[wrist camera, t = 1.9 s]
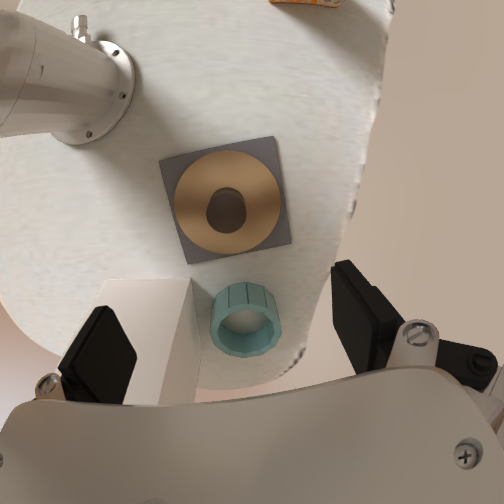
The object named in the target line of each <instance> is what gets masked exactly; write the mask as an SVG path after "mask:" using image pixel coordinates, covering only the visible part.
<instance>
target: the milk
mask: <svg viewBox="0 0 504 504" xmlns="http://www.w3.org/2000/svg"><path fill="white" fill-rule="evenodd" d="M105 305H107V306H109V307H110V308H112V309H113V310H114V312H115V314H116V316H117V318H118V320H119V322H120V324H121V326H122V328H123V330H124V332H125V333H126V335H127V337H128V339H129V341H130V343H131V344H132V346H133V348H134V350H135V351H136V353H137V362H136V365H135V368H134V371H133V373H132V376H131V379H130V382H129V386H128V389H127V392H126V395H125V398H124V401H123V404H124V405H164V404H187V403H194V399H195V393H196V387H197V380H198V374H199V367H200V361H201V355H202V346H201V341H200V335H199V329H198V323H197V317H196V311H195V304H194V297H193V290H192V283H191V278H155V279H106V280H105V282H104V283H103V285H102V287H101V288H100V290H99V291H98V293H97V295H96V296H95V298H94V300H93V301H92V303H91V305H90V306H89V308H88V310H87V312H86V313H85V315H84V317H83V318H82V320H81V322H80V324H79V326H78V327H77V329H76V331H75V333H74V335H73V337H72V338H71V340H70V342H69V344H68V346H67V348H66V350H65V352H64V354H63V356H62V358H61V360H62V359H63V357H64V355H65V354H66V352H67V350H68V349H69V347H70V345H71V344H72V342H73V341H74V339H75V337H76V336H77V334H78V333H79V331H80V329H81V328H82V326H83V325H84V323H85V322H86V320H87V319H88V317H89V316H90V314H91V313H92V311H93V310H94V308H95V307H98V306H105ZM61 360H60V362H61ZM60 362H59V364H60ZM59 364H58V366H59ZM58 366H57V367H58ZM54 373H56V374H58V375H59V376H60V377H61V375H62V374H61V372H60V371H59V370H58V368H56V370H55V372H54Z"/></svg>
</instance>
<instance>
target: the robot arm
mask: <svg viewBox="0 0 504 504" xmlns="http://www.w3.org/2000/svg"><path fill="white" fill-rule="evenodd" d="M71 33H72V36H71V35H69V34H67V33H65V32H63V31H61V30H59V29H57V28H55V27H53V26H51V25H48V24H46V23H44V22H42V21H40V20H37V19H35V18H33V17H30V16H28V15H26V14H23V13H20V12H17V11H14V10H0V138H3V137H10V136H18V135H27V134H37V133H51V134H52V136H54V137H55V138H56V139H57V140H59V141H61V142H63V143H66V144H71V145H76V144H85V143H89V142H92V141H95V140H97V139H99V138H100V137H102V136H104V135H105V134H106V133H107V132H109V131H110V130H111V129H112V128H113V127H114V126H115V125H116V124H117V123H118V121H119V120H120V119H121V117H122V116H123V114H124V113H125V111H126V110H127V107H128V105H129V103H130V101H131V98H132V94H133V91H134V85H135V70H134V66H133V62H132V60H131V58H130V56H129V55H128V53H127V52H126V51H125V50H124V49H123V48H121V47H120V46H118V45H117V44H115V43H112V42H110V41H103V40H100V41H91V36H90V35H89V34H87V16H86V15H80V16H77V17H75V18H74V19H72V21H71ZM118 54H119V55H118ZM117 55H118V56H117ZM124 95H126V97H125V98H123V97H124ZM91 134H92V135H91ZM331 285H332V310H333V325H334V328H335V330H336V332H337V334H338V336H339V338H340V341H341V343H342V345H343V347H344V349H345V351H346V353H347V355H348V357H349V360H350V362H351V364H352V366H353V368H354V370H355V372H356V375H354V376H349V377H346V378H341V379H337V380H334V381H329V382H325V383H321V384H317V385H312V386H308V387H303V388H298V389H294V390H288V391H283V392H278V393H272V394H267V395H260V396H254V397H247V398H240V399H232V400H223V401H213V402H201V403H187V404H164V405H124V404H123V401H124V398H125V395H126V392H127V389H128V386H129V382H130V379H131V376H132V373H133V371H134V368H135V365H136V362H137V353H136V351H135V350H134V348H133V346H132V344H131V343H130V341H129V339H128V337H127V335H126V333H125V332H124V330H123V328H122V326H121V324H120V322H119V320H118V318H117V316H116V314H115V312H114V310H113V309H112V308H110V307H109V306H107V305H105V306H98V307H95V308H94V310H93V311H92V313H91V314H90V316H89V317H88V319H87V320H86V322H85V323H84V325H83V326H82V328H81V329H80V331H79V333H78V334H77V336H76V337H75V339H74V341H73V342H72V344H71V345H70V347H69V349H68V350H67V352H66V354H65V355H64V357H63V359H62V360H61V362H60V364H59V366H58V367H57V368H58V370H59V371H60V372H61V374H62V375H61V377H60V376H59V375H58V374H56V373H49V374H47V375H45V376H44V377H42V378H41V379H40V380H39V381H38V383H37V385H36V388H35V394H36V398H35V399H33V400H31V401H28V402H25V403H22V404H20V405H18V406H17V407H15V408H14V409H13V411H12V412H11V413H10V415H9V417H8V419H7V420H6V422H5V424H4V426H3V428H2V430H1V432H0V504H504V365H503V366H502V367H500V366H498V362H497V359H496V357H495V356H494V355H493V354H492V353H491V352H490V351H489V350H487V349H484V348H479V347H475V346H470V345H465V344H460V343H455V342H450V341H446V340H442V339H439V332H438V330H437V328H436V327H435V326H434V325H433V324H432V323H429V322H428V321H425V320H418V319H415V320H410V321H407V322H405V321H404V319H403V318H402V317H401V315H400V314H399V313H398V312H397V311H396V309H395V308H394V307H393V306H392V304H391V303H390V302H389V301H388V300H387V299H386V297H385V296H384V295H383V294H382V293H381V291H380V290H379V289H378V288H377V287H376V286H372V285H371V284H370V283H369V282H368V281H367V280H366V278H365V277H364V276H363V275H362V274H361V272H359V270H358V269H357V268H356V267H355V266H354V264H353V263H352V262H351V261H350V260H344V261H340V262H335V266H333V267H331Z"/></svg>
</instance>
